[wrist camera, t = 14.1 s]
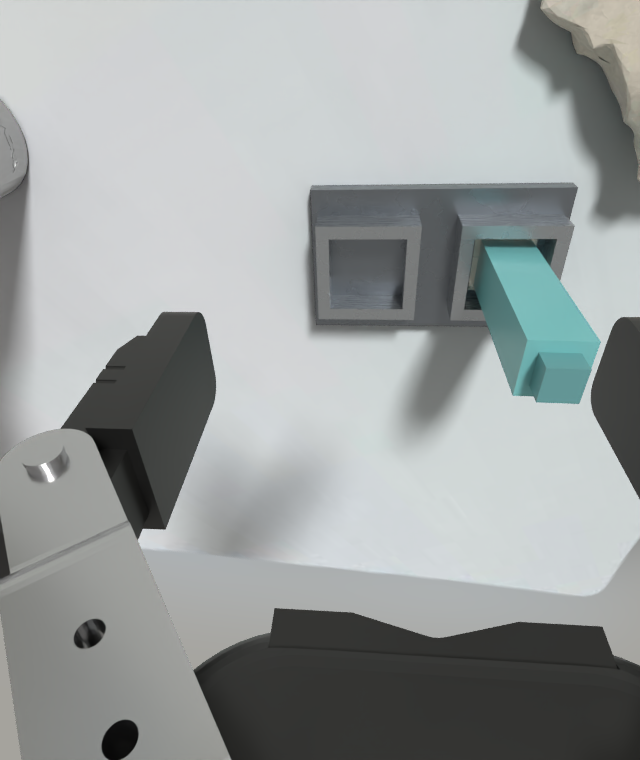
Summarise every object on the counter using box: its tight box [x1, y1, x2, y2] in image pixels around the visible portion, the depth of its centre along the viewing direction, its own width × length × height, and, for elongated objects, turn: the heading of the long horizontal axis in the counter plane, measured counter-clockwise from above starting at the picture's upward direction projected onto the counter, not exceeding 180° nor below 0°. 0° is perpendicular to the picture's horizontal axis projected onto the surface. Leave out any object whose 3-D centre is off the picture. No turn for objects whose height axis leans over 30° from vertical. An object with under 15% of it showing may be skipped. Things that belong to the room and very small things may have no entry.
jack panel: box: [310, 183, 578, 326], centre depth 42 cm, size 20×12×4 cm, turn 92°
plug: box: [473, 240, 601, 404], centre depth 36 cm, size 4×4×17 cm
